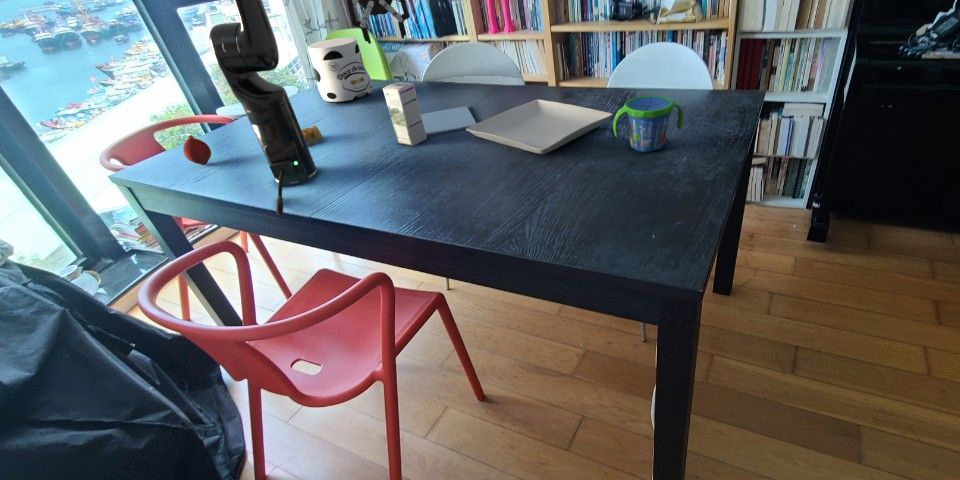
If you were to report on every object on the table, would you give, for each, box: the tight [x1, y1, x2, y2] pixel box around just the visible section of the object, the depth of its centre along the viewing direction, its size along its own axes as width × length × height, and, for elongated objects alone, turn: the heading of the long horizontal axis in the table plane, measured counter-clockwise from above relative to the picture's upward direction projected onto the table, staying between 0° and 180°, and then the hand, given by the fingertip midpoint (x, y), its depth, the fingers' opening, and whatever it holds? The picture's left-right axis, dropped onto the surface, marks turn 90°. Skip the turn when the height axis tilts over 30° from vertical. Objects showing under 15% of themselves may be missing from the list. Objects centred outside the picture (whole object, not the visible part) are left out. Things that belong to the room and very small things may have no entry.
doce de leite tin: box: [307, 37, 374, 105], centre depth 159 cm, size 17×17×18 cm
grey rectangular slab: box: [421, 105, 478, 137], centre depth 137 cm, size 18×14×1 cm
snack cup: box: [612, 94, 684, 153], centre depth 108 cm, size 16×10×10 cm
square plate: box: [465, 99, 614, 155], centre depth 122 cm, size 27×27×4 cm
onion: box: [182, 134, 212, 166], centre depth 124 cm, size 6×6×8 cm
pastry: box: [301, 125, 324, 146], centre depth 132 cm, size 9×7×4 cm
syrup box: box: [382, 81, 428, 147], centre depth 123 cm, size 6×6×14 cm
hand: (386, 40), depth 124 cm, fingers open, 8 cm apart
